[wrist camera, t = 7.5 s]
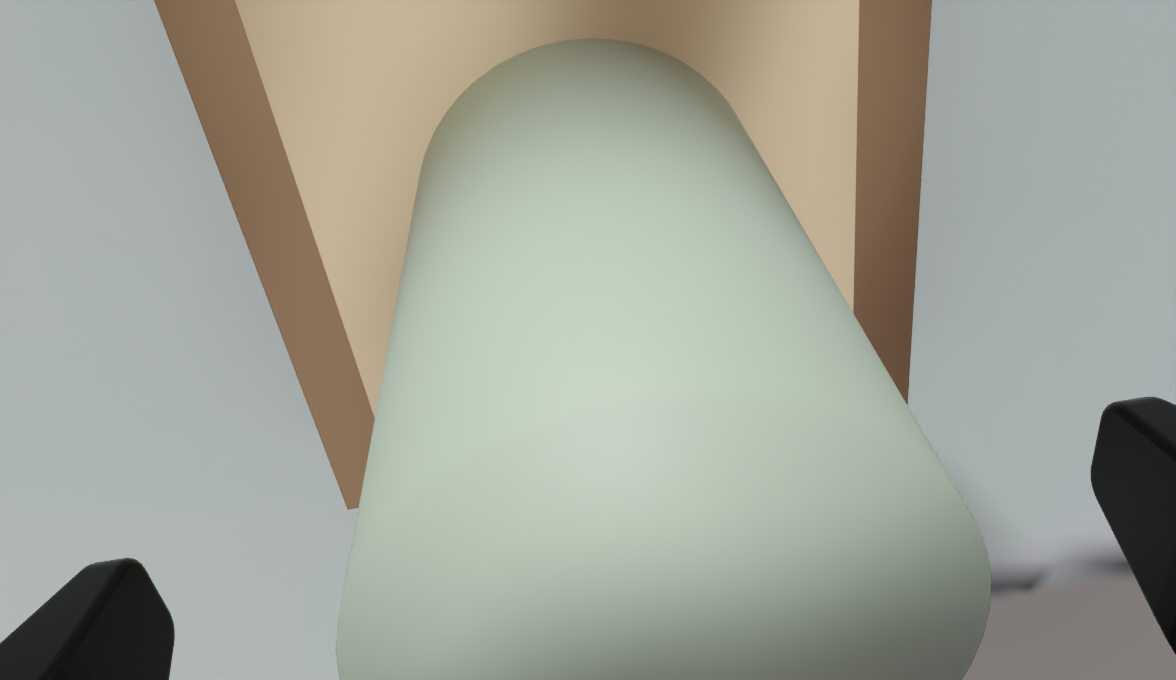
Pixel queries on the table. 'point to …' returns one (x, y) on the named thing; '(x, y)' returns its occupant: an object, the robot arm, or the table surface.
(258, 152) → the plinth
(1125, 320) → the table surface
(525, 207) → the sage capsule
